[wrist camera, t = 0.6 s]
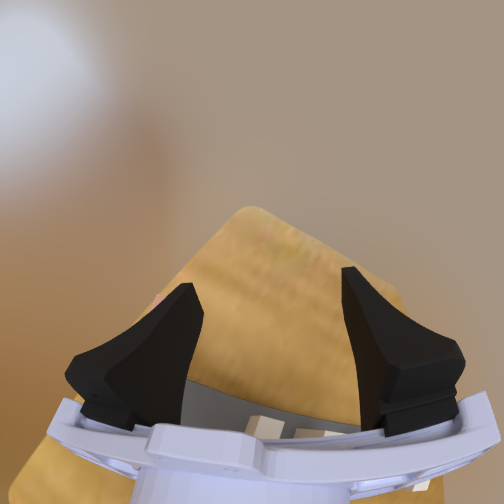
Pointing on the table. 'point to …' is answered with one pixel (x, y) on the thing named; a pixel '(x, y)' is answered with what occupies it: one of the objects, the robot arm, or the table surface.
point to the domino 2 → (313, 433)
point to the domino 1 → (264, 427)
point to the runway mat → (243, 413)
